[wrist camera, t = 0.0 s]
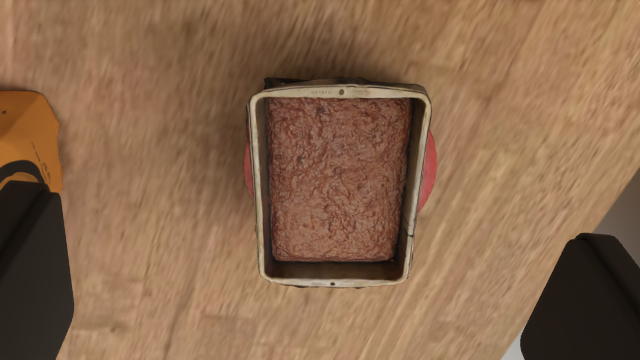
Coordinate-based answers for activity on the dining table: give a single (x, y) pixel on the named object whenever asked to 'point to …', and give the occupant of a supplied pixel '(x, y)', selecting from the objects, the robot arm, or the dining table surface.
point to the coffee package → (29, 140)
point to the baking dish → (338, 179)
